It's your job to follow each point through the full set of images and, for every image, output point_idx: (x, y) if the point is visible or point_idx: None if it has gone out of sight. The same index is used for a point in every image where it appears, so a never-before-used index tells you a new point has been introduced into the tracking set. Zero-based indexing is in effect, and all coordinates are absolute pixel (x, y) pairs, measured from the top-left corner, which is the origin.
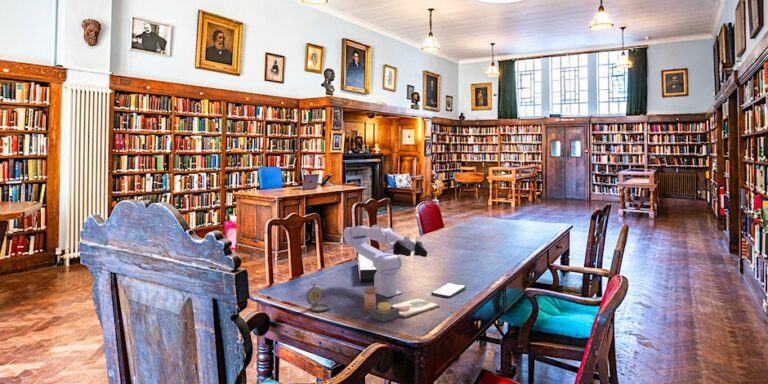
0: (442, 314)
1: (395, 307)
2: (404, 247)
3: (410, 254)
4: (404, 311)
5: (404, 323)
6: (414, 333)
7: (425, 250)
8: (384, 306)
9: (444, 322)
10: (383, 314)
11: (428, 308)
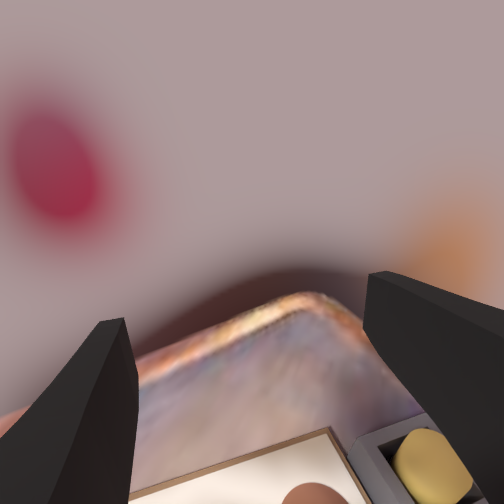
0: (158, 408)
1: (373, 459)
2: (484, 310)
3: (365, 310)
4: (316, 484)
5: (335, 392)
6: (321, 324)
7: (106, 332)
8: (433, 431)
9: (203, 346)
10: (425, 414)
11: (180, 482)
